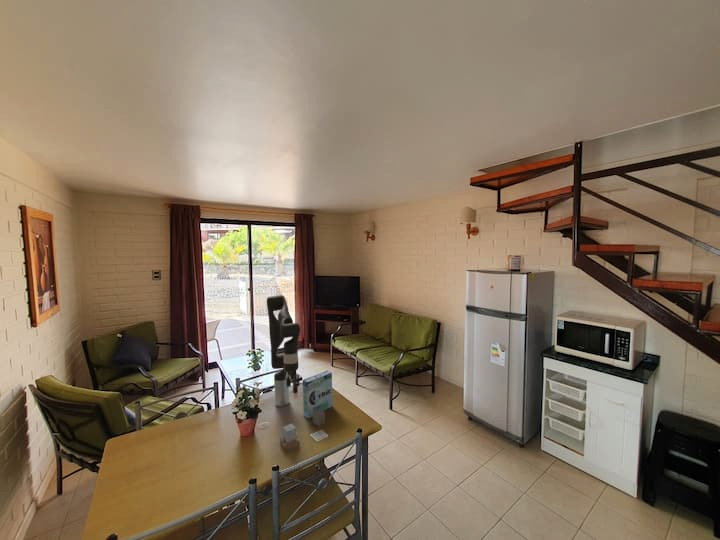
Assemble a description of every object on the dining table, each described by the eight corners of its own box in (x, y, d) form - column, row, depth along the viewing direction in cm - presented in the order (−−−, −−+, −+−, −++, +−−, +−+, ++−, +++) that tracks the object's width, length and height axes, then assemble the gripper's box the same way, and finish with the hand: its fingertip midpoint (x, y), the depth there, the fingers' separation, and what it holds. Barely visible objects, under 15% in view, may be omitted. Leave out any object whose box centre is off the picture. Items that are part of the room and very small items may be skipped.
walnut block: (280, 444, 150) (280, 436, 150) (295, 439, 154) (295, 432, 154) (283, 453, 143) (283, 445, 143) (299, 448, 147) (299, 440, 147)
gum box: (328, 403, 189) (327, 370, 188) (333, 406, 186) (332, 372, 184) (303, 415, 176) (302, 379, 174) (307, 419, 172) (306, 382, 171)
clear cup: (283, 438, 149) (282, 427, 149) (291, 434, 152) (291, 423, 152) (287, 443, 145) (286, 431, 145) (296, 438, 148) (295, 427, 148)
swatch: (310, 435, 157) (310, 434, 157) (321, 430, 161) (321, 429, 161) (316, 441, 151) (316, 440, 151) (328, 436, 155) (328, 435, 155)
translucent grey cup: (312, 423, 168) (312, 413, 168) (318, 419, 172) (318, 409, 172) (318, 426, 165) (318, 416, 165) (325, 422, 169) (324, 412, 169)
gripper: (279, 358, 156) (280, 386, 157) (290, 366, 145) (291, 397, 146) (292, 354, 160) (292, 382, 162) (303, 362, 149) (304, 392, 151)
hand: (292, 389), depth 154 cm, fingers open, 8 cm apart
